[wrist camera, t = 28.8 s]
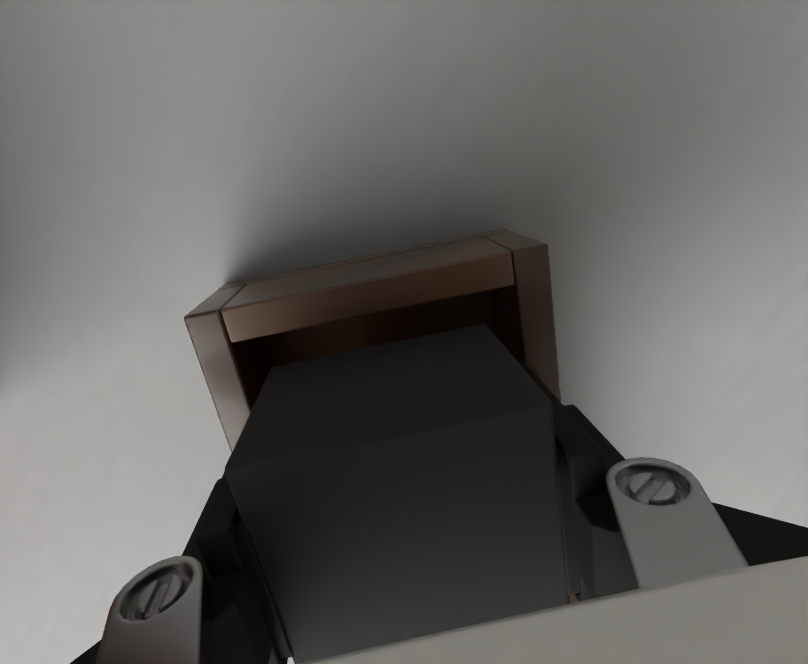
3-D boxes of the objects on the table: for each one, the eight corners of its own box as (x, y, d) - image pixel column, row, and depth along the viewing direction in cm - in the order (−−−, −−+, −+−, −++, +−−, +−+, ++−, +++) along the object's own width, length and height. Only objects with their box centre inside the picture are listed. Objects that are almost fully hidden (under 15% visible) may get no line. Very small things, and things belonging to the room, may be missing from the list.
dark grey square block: (485, 321, 11) (553, 400, 7) (509, 499, 12) (574, 641, 9) (270, 366, 11) (221, 470, 7) (322, 539, 12) (306, 701, 8)
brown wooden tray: (506, 228, 13) (548, 243, 10) (550, 624, 18) (587, 711, 15) (222, 284, 13) (181, 316, 10) (345, 669, 18) (342, 766, 15)
